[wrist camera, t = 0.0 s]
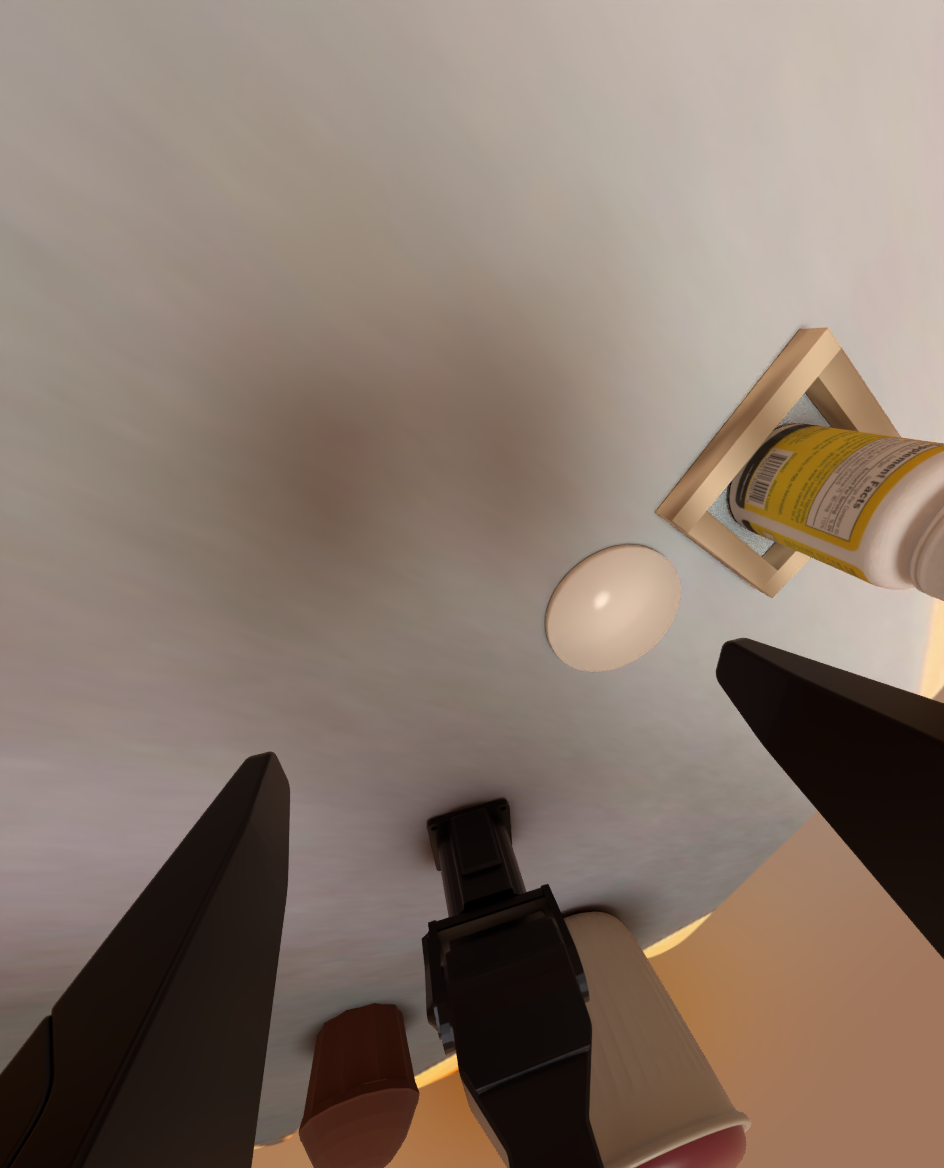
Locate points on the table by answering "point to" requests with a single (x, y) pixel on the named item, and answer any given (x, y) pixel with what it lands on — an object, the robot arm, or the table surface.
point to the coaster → (612, 608)
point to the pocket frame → (797, 370)
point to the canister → (648, 1063)
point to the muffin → (359, 1090)
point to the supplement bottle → (850, 502)
